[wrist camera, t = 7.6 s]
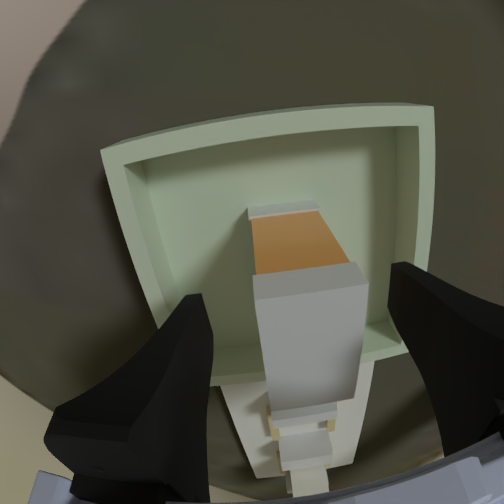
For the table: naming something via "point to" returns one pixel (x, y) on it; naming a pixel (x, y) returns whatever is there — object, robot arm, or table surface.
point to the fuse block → (297, 428)
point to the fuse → (309, 481)
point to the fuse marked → (306, 306)
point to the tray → (272, 192)
